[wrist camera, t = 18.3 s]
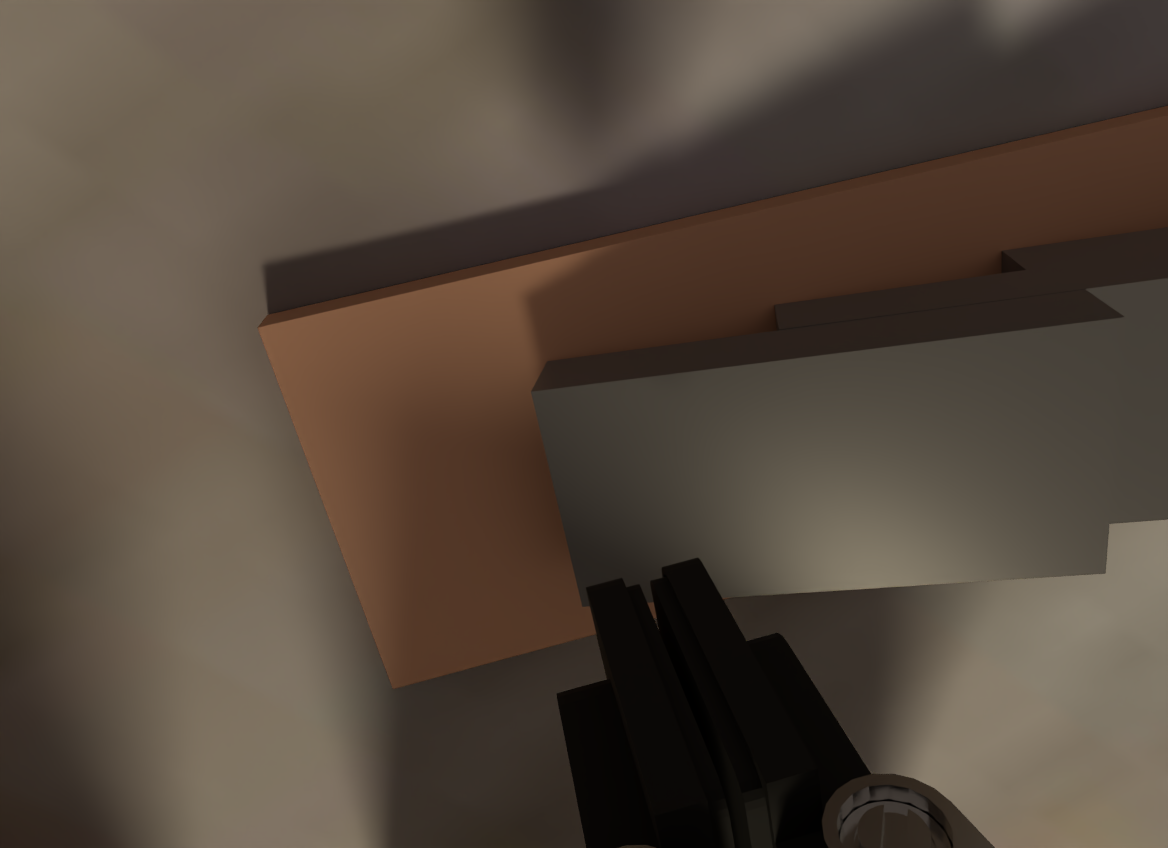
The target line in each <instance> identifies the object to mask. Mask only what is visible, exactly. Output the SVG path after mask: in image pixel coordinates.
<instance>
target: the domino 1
mask: <svg viewBox="0 0 1168 848" xmlns="http://www.w3.org/2000/svg"><path fill="white" fill-rule="evenodd" d="M1124 326H1125V317H1124V316H1123V315H1121V314H1120V313H1119V312H1117V311H1116V310H1114V309H1113V308H1111V307H1110V306H1109V305H1107V304H1106V303H1104V302H1103V301H1101V300H1100V299H1098V298H1097V297H1096V296H1094V295H1093V294H1091V293H1090V292H1088V291H1087V290H1086V289H1084V290H1077V291H1069V292H1062V293H1054V294H1047V295H1039V296H1032V297H1024V298H1017V299H1009V300H1002V301H994V302H987V303H979V304H972V305H964V306H957V307H949V308H942V309H934V310H927V311H919V312H912V313H905V314H897V315H890V316H882V317H875V318H867V319H860V320H852V321H845V322H837V323H830V324H822V325H815V326H807V327H800V328H792V329H785V330H777V331H770V332H762V333H755V334H747V335H740V336H732V337H725V338H717V339H710V340H702V341H695V342H687V343H680V344H672V345H665V346H657V347H650V348H642V349H635V350H627V351H620V352H612V353H605V354H597V355H590V356H582V357H575V358H567V359H560V360H553V361H547V363H546V364H545V366H544V368H543V370H542V372H541V374H540V376H539V377H538V379H537V381H536V383H535V385H534V387H533V389H532V391H531V395H532V399H533V403H534V407H535V411H536V415H537V420H538V424H539V428H540V432H541V436H542V440H543V445H544V449H545V453H546V457H547V461H548V466H549V470H550V474H551V478H552V482H553V486H554V491H555V495H556V499H557V503H558V507H559V512H560V516H561V520H562V524H563V528H564V532H565V537H566V541H567V545H568V549H569V553H570V557H571V562H572V566H573V570H574V574H575V578H576V583H577V587H578V591H579V595H580V599H581V603H582V607H589V606H590V605H589V601H588V596H587V592H586V587H589V586H592V585H596V584H600V583H604V582H608V581H611V580H615V579H619V578H622V579H623V581H624V583H625V585H626V587H629V586H632V585H636V584H640V586H641V589H642V591H643V593H644V596H645V598H646V601H647V603H651V602H653V597H652V592H651V586H650V581H651V580H655V579H659V578H662V570H661V569H662V567H664V566H668V565H672V564H675V563H679V562H683V561H687V560H691V559H694V558H699V559H700V560H701V562H702V563H703V565H704V567H705V569H706V570H707V572H708V574H709V576H710V577H711V579H712V581H713V583H714V584H715V586H716V588H717V590H718V592H719V593H720V595H721V597H722V598H730V597H745V596H761V595H777V594H792V593H808V592H824V591H839V590H855V589H870V588H886V587H902V586H917V585H933V584H949V583H964V582H980V581H996V580H1011V579H1027V578H1043V577H1058V576H1074V575H1090V574H1105V573H1106V560H1107V547H1108V534H1109V521H1110V508H1111V495H1112V482H1113V469H1114V456H1115V443H1116V430H1117V417H1118V404H1119V391H1120V378H1121V365H1122V352H1123V339H1124Z"/></svg>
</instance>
